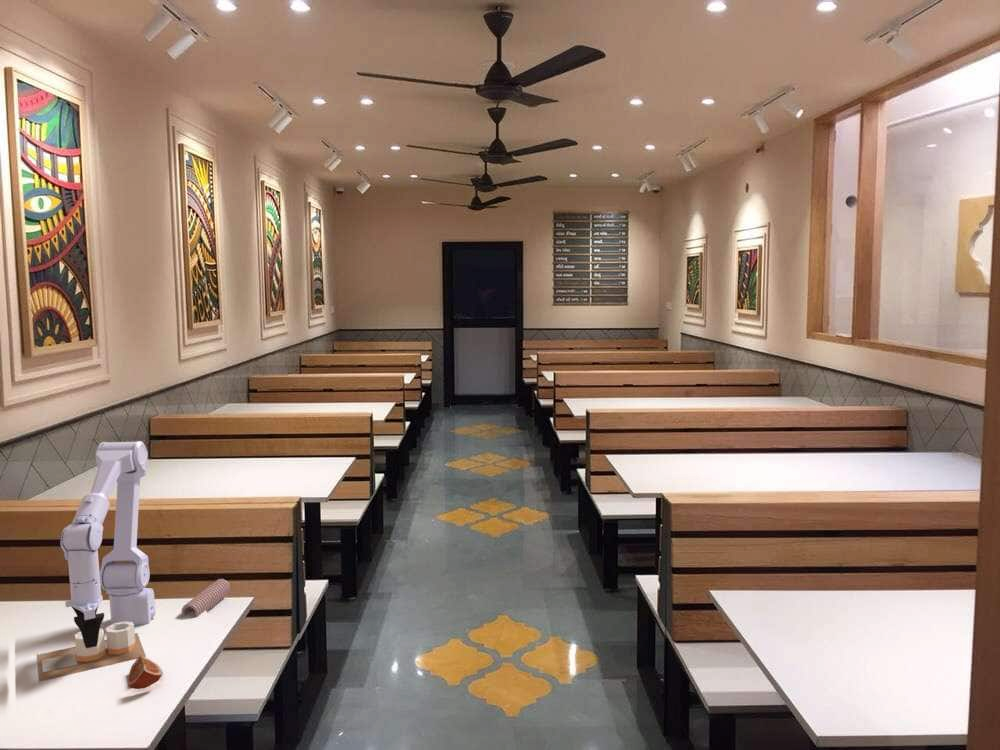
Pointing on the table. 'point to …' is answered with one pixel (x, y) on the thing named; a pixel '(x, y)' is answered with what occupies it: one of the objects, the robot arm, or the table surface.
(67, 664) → the pin board
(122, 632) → the seated sleeve
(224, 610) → the table surface
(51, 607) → the table surface
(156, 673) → the fruit slice
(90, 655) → the sleeve
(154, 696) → the table surface
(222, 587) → the coil
